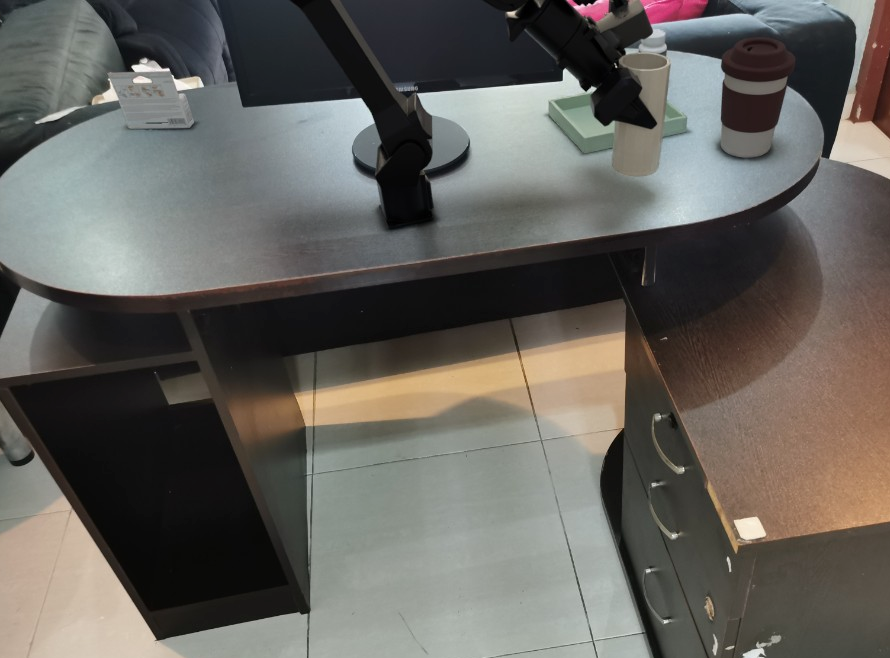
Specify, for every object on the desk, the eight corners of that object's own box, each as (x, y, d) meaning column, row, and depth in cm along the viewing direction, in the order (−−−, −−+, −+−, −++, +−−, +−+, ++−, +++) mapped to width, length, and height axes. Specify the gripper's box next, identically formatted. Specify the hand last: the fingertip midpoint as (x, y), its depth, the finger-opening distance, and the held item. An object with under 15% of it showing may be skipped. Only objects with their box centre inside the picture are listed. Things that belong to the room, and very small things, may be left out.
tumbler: (623, 180, 110) (632, 73, 100) (604, 160, 114) (610, 56, 105) (667, 172, 111) (679, 66, 102) (646, 152, 116) (656, 49, 107)
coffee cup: (793, 152, 122) (813, 49, 112) (738, 169, 120) (754, 65, 109) (750, 127, 129) (765, 27, 119) (698, 143, 126) (708, 42, 116)
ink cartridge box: (134, 123, 143) (112, 66, 136) (195, 122, 142) (176, 65, 135) (128, 130, 141) (105, 72, 134) (190, 129, 140) (171, 71, 133)
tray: (584, 153, 126) (584, 138, 124) (548, 114, 136) (548, 100, 135) (686, 132, 129) (687, 116, 127) (643, 95, 140) (644, 81, 138)
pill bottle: (669, 80, 144) (672, 30, 138) (657, 90, 141) (660, 39, 136) (644, 75, 146) (647, 26, 140) (632, 85, 143) (634, 35, 138)
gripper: (627, 6, 90) (716, 98, 98) (601, -43, 103) (680, 41, 111) (556, 84, 95) (645, 165, 103) (540, 27, 109) (620, 103, 116)
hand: (649, 115), depth 108 cm, fingers closed on tumbler, 6 cm apart
